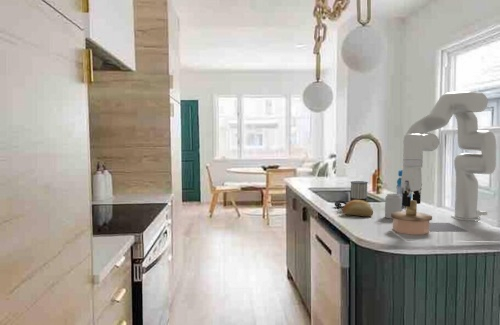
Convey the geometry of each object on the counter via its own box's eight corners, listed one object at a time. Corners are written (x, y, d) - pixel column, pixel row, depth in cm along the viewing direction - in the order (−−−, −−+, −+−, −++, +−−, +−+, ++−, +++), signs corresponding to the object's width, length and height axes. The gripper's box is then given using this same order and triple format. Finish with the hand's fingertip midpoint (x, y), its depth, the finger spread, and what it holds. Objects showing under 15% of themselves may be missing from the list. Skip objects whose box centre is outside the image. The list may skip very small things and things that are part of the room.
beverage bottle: (394, 205, 238) (395, 170, 236) (398, 203, 244) (399, 169, 243) (409, 207, 233) (410, 171, 231) (413, 205, 240) (414, 170, 238)
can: (402, 220, 197) (403, 195, 196) (385, 219, 199) (386, 194, 198) (400, 217, 204) (400, 193, 204) (384, 216, 206) (384, 192, 205)
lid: (422, 213, 182) (422, 197, 182) (439, 221, 166) (439, 204, 166) (385, 213, 182) (386, 197, 182) (398, 221, 166) (399, 203, 166)
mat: (449, 223, 190) (449, 222, 190) (468, 232, 173) (468, 231, 173) (413, 223, 190) (413, 222, 190) (430, 232, 173) (430, 231, 173)
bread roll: (342, 213, 216) (342, 197, 215) (372, 214, 212) (373, 199, 212) (341, 216, 207) (342, 200, 206) (373, 218, 203) (373, 202, 202)
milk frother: (370, 210, 225) (371, 182, 224) (344, 211, 220) (344, 183, 219) (357, 205, 238) (357, 179, 237) (331, 206, 234) (332, 180, 233)
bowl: (419, 228, 181) (420, 214, 181) (433, 235, 168) (433, 220, 168) (389, 228, 181) (390, 214, 181) (400, 235, 168) (401, 220, 168)
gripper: (412, 162, 181) (411, 201, 183) (394, 164, 169) (393, 206, 170) (430, 163, 176) (428, 203, 177) (412, 165, 164) (411, 208, 165)
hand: (411, 204), depth 174 cm, fingers open, 9 cm apart
